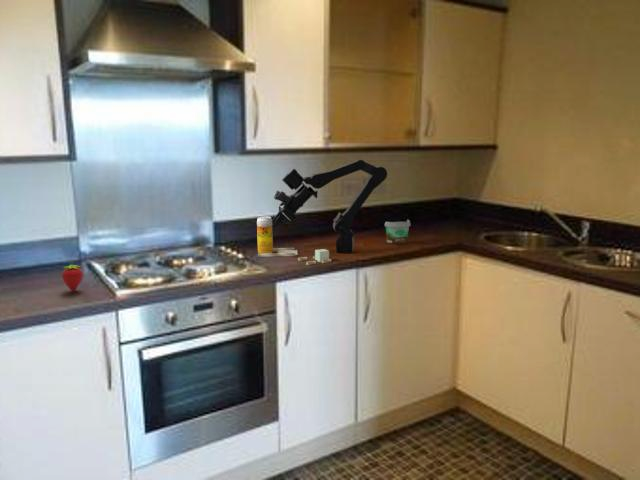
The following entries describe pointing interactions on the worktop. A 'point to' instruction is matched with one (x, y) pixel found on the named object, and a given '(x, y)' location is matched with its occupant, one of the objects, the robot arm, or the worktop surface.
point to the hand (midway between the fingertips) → (272, 225)
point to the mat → (289, 251)
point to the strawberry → (72, 276)
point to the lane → (278, 253)
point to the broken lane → (313, 261)
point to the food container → (397, 232)
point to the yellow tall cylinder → (264, 235)
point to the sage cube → (321, 255)
